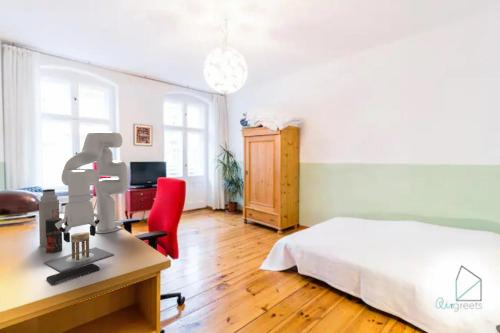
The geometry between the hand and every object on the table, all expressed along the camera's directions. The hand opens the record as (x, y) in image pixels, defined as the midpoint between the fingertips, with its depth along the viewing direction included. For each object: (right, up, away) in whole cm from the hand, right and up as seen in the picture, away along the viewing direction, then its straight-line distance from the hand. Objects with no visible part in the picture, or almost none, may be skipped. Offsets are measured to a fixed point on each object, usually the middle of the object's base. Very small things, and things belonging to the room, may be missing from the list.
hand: (80, 238), depth 105 cm
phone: (+8, -10, -14) cm, 19 cm away
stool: (0, -8, 0) cm, 8 cm away
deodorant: (-19, -9, +9) cm, 23 cm away
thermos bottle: (-29, -9, +19) cm, 36 cm away
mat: (0, -9, 0) cm, 9 cm away
